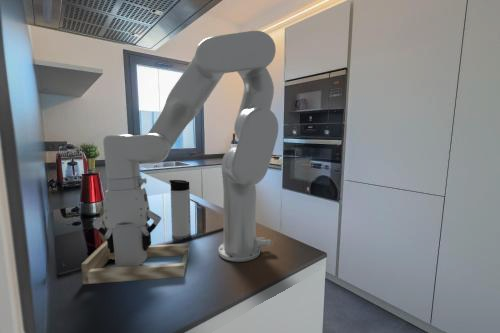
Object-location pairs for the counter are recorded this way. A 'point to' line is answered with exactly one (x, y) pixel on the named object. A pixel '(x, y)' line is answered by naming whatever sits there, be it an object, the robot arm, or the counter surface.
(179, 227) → the travel mug
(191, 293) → the counter surface
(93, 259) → the frame
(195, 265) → the counter surface
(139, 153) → the robot arm
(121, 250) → the can
